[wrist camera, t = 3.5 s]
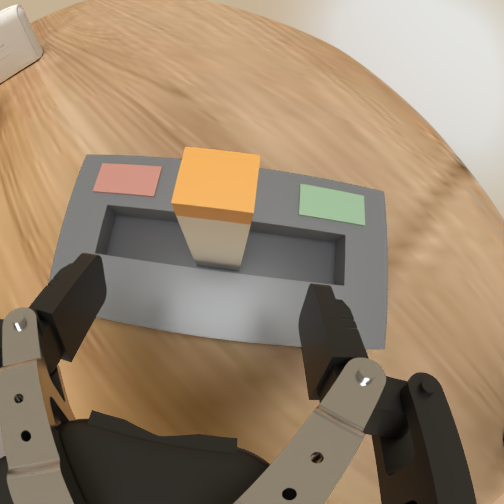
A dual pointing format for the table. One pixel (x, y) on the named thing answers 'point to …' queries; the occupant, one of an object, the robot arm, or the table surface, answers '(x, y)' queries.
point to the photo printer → (16, 42)
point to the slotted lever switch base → (253, 262)
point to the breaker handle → (216, 204)
